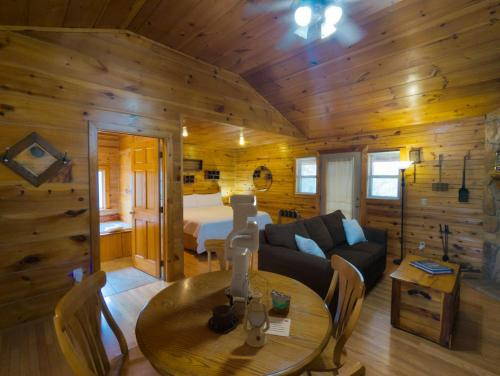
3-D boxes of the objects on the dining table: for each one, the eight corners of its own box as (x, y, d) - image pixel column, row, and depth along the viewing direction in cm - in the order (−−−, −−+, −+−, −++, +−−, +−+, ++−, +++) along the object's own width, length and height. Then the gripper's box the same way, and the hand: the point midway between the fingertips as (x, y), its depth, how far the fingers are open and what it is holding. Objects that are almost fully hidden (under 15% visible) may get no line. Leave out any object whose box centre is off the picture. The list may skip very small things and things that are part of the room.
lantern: (244, 349, 102) (244, 278, 101) (241, 335, 112) (241, 270, 111) (272, 347, 104) (272, 277, 103) (267, 332, 113) (267, 268, 112)
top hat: (203, 332, 114) (203, 310, 114) (212, 314, 129) (212, 295, 129) (235, 334, 112) (235, 312, 112) (241, 316, 127) (241, 296, 127)
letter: (267, 316, 127) (267, 316, 127) (290, 319, 124) (290, 319, 124) (262, 333, 113) (262, 332, 113) (288, 337, 110) (288, 336, 110)
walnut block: (234, 308, 135) (234, 298, 134) (245, 309, 134) (245, 298, 134) (233, 314, 129) (233, 303, 128) (244, 315, 128) (244, 304, 128)
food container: (265, 309, 133) (265, 291, 133) (272, 305, 138) (272, 288, 137) (284, 318, 125) (284, 299, 125) (291, 313, 129) (291, 295, 129)
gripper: (257, 274, 132) (257, 305, 133) (226, 271, 136) (226, 302, 137) (254, 279, 125) (254, 313, 125) (221, 276, 129) (221, 308, 129)
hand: (239, 307), depth 131 cm, fingers open, 8 cm apart
